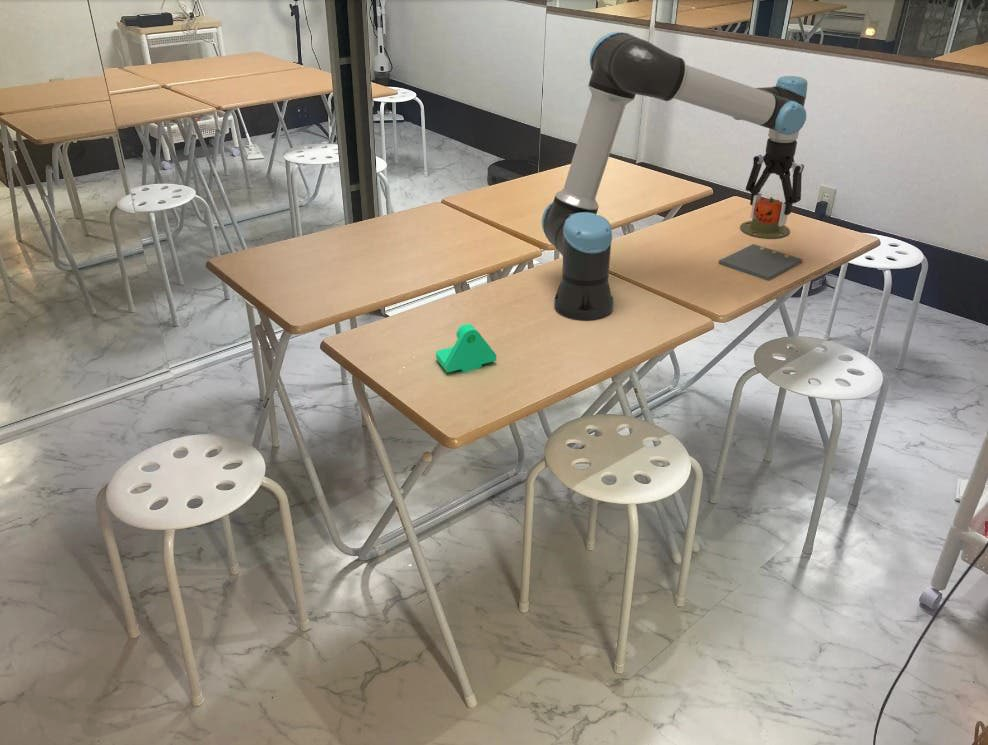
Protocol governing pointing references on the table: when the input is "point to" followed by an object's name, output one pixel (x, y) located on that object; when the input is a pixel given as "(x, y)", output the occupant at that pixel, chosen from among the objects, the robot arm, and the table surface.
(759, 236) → the flange
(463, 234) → the table surface
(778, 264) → the mat
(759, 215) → the pumpkin
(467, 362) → the camera mount
